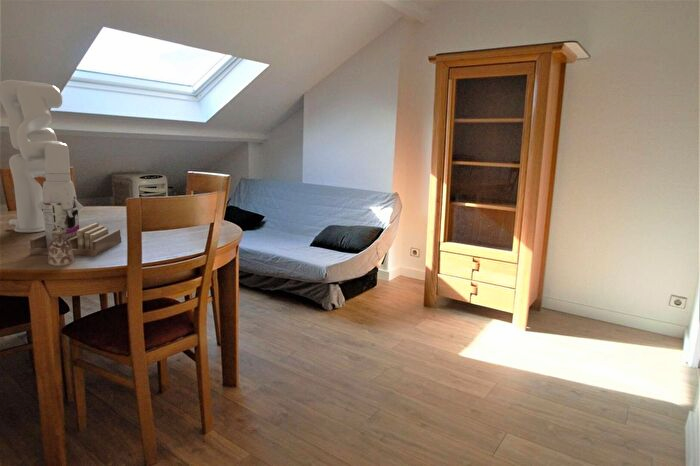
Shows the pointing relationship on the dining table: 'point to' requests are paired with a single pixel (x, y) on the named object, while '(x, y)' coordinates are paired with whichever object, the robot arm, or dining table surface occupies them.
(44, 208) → the candy bar box
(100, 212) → the dining table surface
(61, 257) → the figurine
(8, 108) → the robot arm
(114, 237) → the rack
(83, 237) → the offcuts
